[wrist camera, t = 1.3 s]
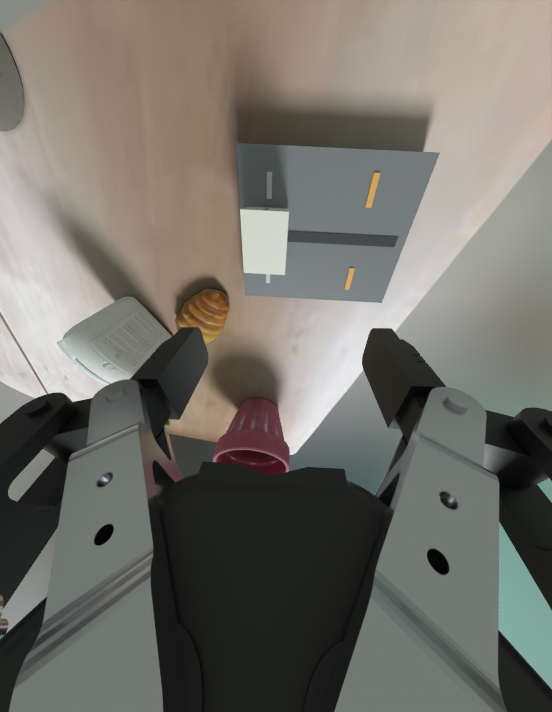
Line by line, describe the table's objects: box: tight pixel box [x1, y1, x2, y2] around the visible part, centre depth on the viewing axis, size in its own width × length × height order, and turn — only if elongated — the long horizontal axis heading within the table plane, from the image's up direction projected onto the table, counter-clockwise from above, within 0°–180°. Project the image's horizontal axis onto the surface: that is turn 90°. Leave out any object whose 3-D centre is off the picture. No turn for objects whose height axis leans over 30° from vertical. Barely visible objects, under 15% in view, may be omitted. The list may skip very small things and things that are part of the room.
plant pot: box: [213, 398, 289, 475], centre depth 42 cm, size 14×14×13 cm
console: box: [236, 143, 439, 303], centre depth 23 cm, size 18×14×3 cm
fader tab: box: [240, 207, 289, 275], centre depth 20 cm, size 4×5×5 cm
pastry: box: [175, 289, 229, 344], centre depth 31 cm, size 9×7×4 cm
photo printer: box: [57, 297, 172, 386], centre depth 29 cm, size 10×4×12 cm, turn 28°
